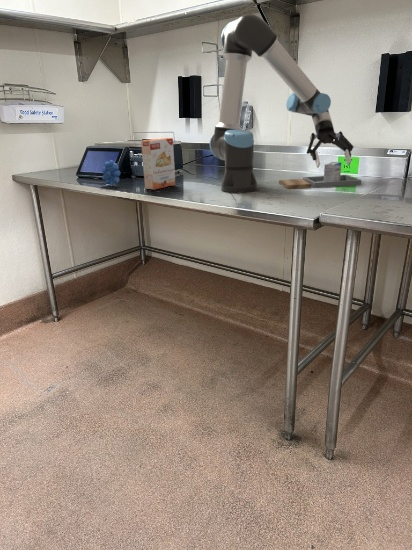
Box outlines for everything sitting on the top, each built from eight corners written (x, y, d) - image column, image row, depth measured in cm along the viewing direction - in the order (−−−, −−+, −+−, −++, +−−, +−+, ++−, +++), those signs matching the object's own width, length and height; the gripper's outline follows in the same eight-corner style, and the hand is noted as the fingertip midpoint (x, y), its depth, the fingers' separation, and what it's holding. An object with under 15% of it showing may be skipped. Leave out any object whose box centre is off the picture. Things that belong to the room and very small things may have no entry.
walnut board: (287, 189, 169) (287, 185, 168) (279, 183, 181) (279, 180, 180) (310, 187, 170) (311, 183, 169) (301, 182, 182) (301, 178, 181)
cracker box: (154, 191, 176) (149, 140, 168) (144, 190, 180) (139, 140, 172) (176, 186, 186) (173, 137, 178) (167, 184, 189) (163, 137, 181)
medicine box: (333, 185, 171) (334, 164, 168) (323, 185, 174) (324, 164, 170) (340, 182, 177) (341, 162, 174) (330, 182, 180) (331, 161, 176)
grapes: (128, 185, 191) (125, 159, 187) (117, 188, 186) (114, 161, 182) (111, 184, 198) (108, 158, 193) (100, 186, 193) (96, 160, 188)
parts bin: (313, 187, 169) (314, 182, 168) (302, 181, 182) (302, 177, 182) (360, 185, 170) (361, 180, 169) (346, 179, 184) (346, 174, 183)
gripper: (347, 129, 187) (358, 168, 179) (294, 132, 185) (303, 171, 177) (353, 117, 180) (365, 157, 172) (298, 120, 178) (307, 160, 170)
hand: (334, 164), depth 174 cm, fingers open, 13 cm apart
